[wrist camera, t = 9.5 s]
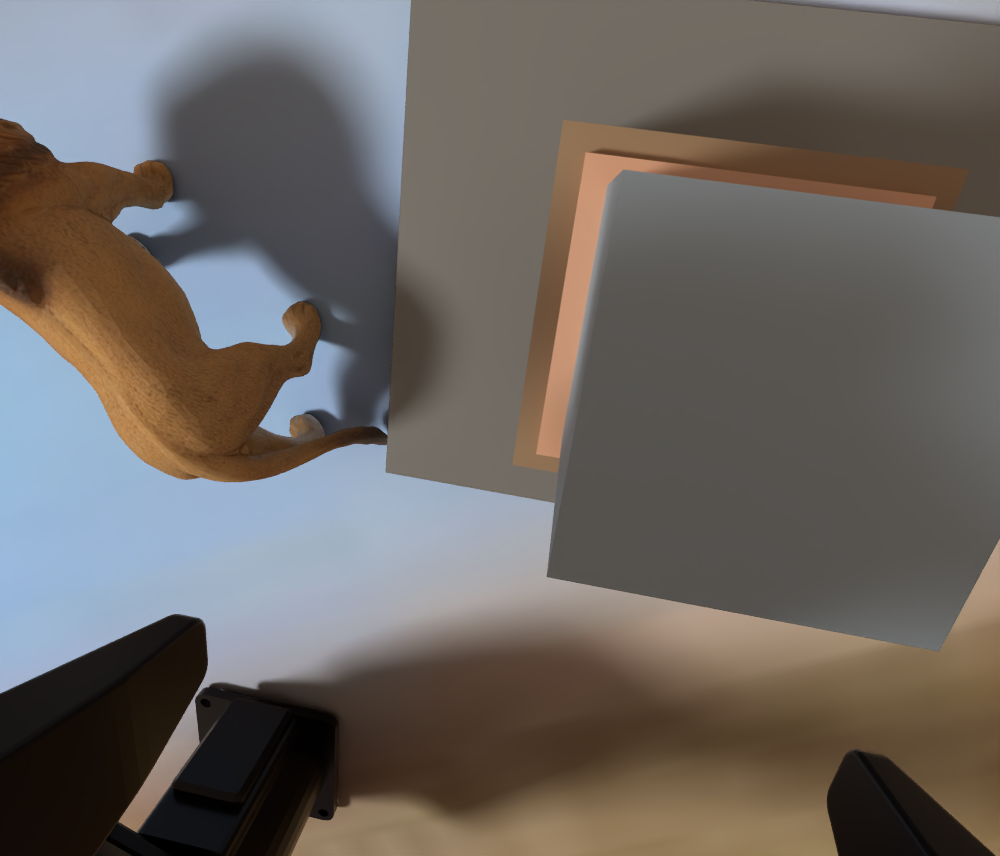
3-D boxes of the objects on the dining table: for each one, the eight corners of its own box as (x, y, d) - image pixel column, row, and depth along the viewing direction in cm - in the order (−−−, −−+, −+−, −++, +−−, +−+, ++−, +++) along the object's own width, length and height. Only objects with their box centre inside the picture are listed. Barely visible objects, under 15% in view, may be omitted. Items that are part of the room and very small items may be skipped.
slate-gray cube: (801, 477, 12) (938, 651, 7) (561, 436, 12) (547, 576, 8) (893, 222, 10) (1159, 238, 5) (606, 185, 10) (623, 168, 6)
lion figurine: (3, 216, 19) (-448, 224, 11) (55, 68, 17) (-447, -62, 9) (358, 482, 21) (206, 665, 13) (442, 376, 19) (328, 509, 11)
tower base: (862, 543, 19) (985, 694, 13) (394, 460, 20) (317, 563, 14) (1075, 48, 14) (1443, -70, 8) (423, -20, 15) (319, -164, 9)
